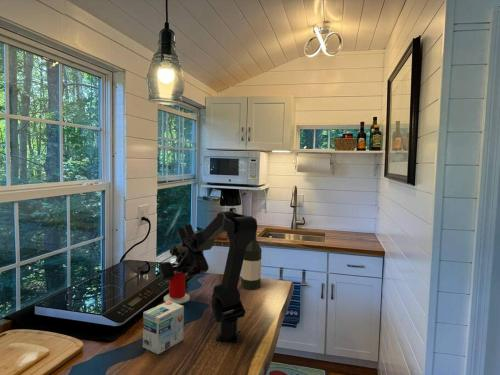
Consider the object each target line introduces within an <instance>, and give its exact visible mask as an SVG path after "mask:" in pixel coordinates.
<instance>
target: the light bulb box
mask: <svg viewBox="0 0 500 375" xmlns="http://www.w3.org/2000/svg"><path fill="white" fill-rule="evenodd" d="M142 314H143V315H142V316H143V317H142V318H143V319H142V348H144V349H146V350H147V351H150V352H152V353H154V354H156V355H159V354H161V353H164V352H165V351H167V350H168V349H170V348H173V347H174V346H175V345H177V344H179V343H180V342H181V341H183V340H184V322H185V320H184V318H185V316H184V315H185V306H184V305H181V304H176V303H173V302H171V301H167V302H165V301H164V302H163V303H161V304H158V305H157V306H155V307H154V306H153V307H152V308H150V309H148V310H145V311H143V313H142Z"/></svg>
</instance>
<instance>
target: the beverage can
mask: <svg viewBox="0 0 500 375" xmlns="http://www.w3.org/2000/svg"><path fill="white" fill-rule="evenodd" d="M175 266H176V265H174V266H173V265H172V267H175ZM185 293H186V273H184V274H182V273H181V272H180V273H175V274H174V277H173V279H172V280H170V281H168V294H169V296H170V298H172V299H176V300H177V299H181V298H183V297H184V296H185Z"/></svg>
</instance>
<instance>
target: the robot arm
mask: <svg viewBox="0 0 500 375" xmlns="http://www.w3.org/2000/svg"><path fill="white" fill-rule="evenodd" d="M254 218H255V217H253V216H251V215H244V214H241V213H236V212H234V211H232V210H226V211H220V212H218V213H217V214H216V217H214V218H213V220H211V221H210V223H209V224H208V225H207V226H205V227H204V229H203V230H202V231H201V230H200V231H199V232H196V233H195V230H194V229H193V226H192V224H191V223H190V224H189V223H188V224H185V226H182V227H180V228H178V229H177V231H176V232H177V235H178V236H177V237H178V238H179V241H180V244H174V245H172V246H171V247H170V248H169V254H170V255H171V256H172V257H173V256H174V257H176V258H175V262H176V263H177V265H174V266H175V267H173V265H172V263H171V261H165V262H164V261H163V262H160V263H159V264H158V266H157V269H158V272H159V275H160V278H161V280H162V281H165V283H167V282H169V281H170V280H172V279H173V277H174V274H175V273H180V272H181V273H182V274H184V273H185V274H186V278H191V277H194V276H198V275H201V274H204V273H206V272H207V273H208V270H209V269H210V266H209V263H208V261H207V259H206V257H205V254H204V251H208V250H209V251H210V250H211V249H212V248H213V247H214V245H215V240H216V239H217V238H218V237H219V236H220V235H221V234H222V233H223V232H224V231H225V232H226V236H227V238H228V241H229V247H228V253H227V256H226V257H227V258H226V262H225V267H224V270H223V275H222V280H221V284H219V285H215V286H214V287H213V290H212V291H213V292H212V295H211V298H212V299H211V309H212V315H213V316H212V317H213V320H215V322H216V323H219V330H218V331H219V332H218V333H217V336H216V338H215V340H216V341H217V342H218V341H220V342H227V343H238V340H239V337H240V335H241V331H240V330H239V319H241V318H244V317H245V315H246V309H245V308H244V306H243V302H242V300H241V293H240V290H239V288H238V286H239V282H240V278H241V273H242V264H243V260H244V256H245V251H246V247H247V246H248V245H249V244H250V242H251V241H252V240H253V239H254V236H255V234H256V235H257V232H256V231H257V230H258V221H257V222H256V221H255V219H254Z"/></svg>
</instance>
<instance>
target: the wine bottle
mask: <svg viewBox="0 0 500 375" xmlns="http://www.w3.org/2000/svg"><path fill="white" fill-rule="evenodd" d="M253 218H254V219H255V221H256V222H257V223H258V221H257V219H256V218H255V217H253ZM262 252H263V250H262V248H261V246H260V244H259V242H258V240H257V231H256V234H255V236H254V239H253V240H252V241H251V242H250V244H249V245H248V246H247V247H246V251H245V256H244V260H243V264H242V269H241V273H240V278H241V280H240V281H241V282H240V287H241V288H242V289H243V290H246V291H257V290H259V289H260V288H261V273H262Z"/></svg>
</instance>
